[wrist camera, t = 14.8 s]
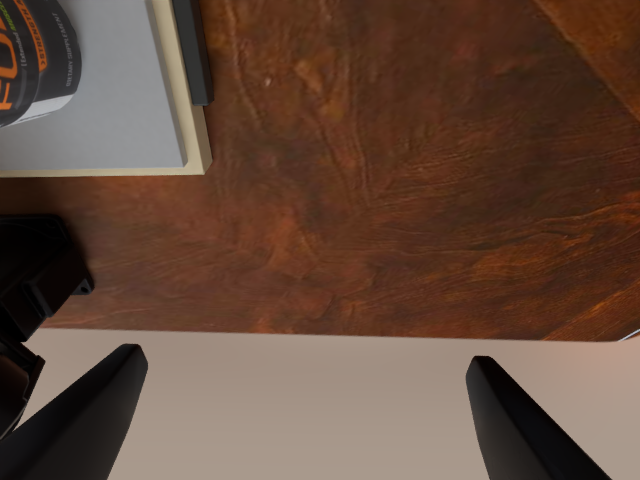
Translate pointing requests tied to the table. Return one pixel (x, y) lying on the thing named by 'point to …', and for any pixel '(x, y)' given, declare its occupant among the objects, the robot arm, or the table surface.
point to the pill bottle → (36, 59)
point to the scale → (124, 97)
